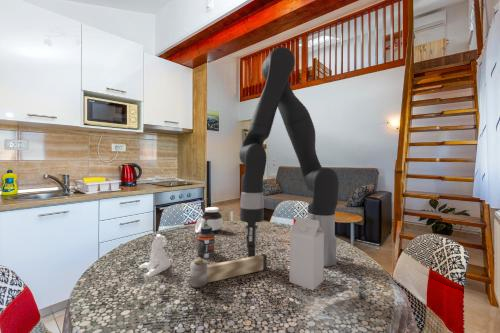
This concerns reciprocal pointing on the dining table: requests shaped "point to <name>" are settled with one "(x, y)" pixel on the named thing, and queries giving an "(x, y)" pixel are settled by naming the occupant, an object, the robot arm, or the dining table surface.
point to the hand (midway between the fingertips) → (251, 259)
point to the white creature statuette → (157, 257)
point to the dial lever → (224, 269)
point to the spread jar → (210, 220)
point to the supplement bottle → (206, 242)
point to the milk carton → (306, 253)
